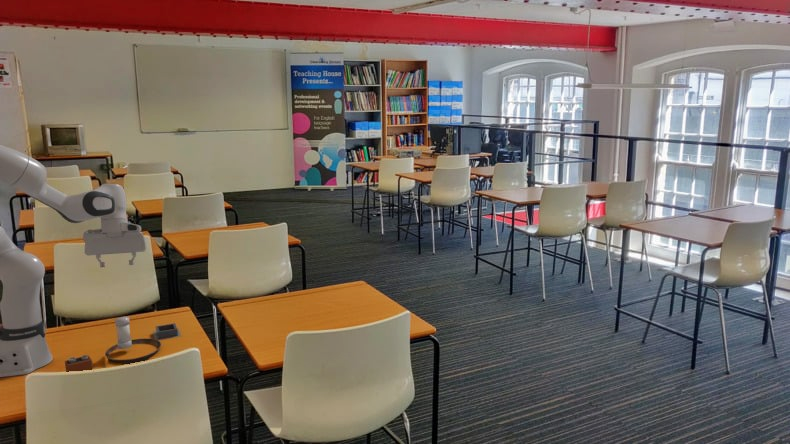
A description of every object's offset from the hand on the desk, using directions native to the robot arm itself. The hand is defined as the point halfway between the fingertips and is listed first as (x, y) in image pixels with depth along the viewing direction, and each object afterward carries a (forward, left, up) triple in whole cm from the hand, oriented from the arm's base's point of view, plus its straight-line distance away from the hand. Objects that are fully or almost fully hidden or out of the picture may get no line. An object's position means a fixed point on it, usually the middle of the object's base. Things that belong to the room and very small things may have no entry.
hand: (117, 266), depth 215 cm
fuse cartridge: (0, -18, -24) cm, 30 cm away
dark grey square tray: (+14, -8, -27) cm, 32 cm away
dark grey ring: (+2, -20, -28) cm, 34 cm away
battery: (-14, -38, -28) cm, 49 cm away
